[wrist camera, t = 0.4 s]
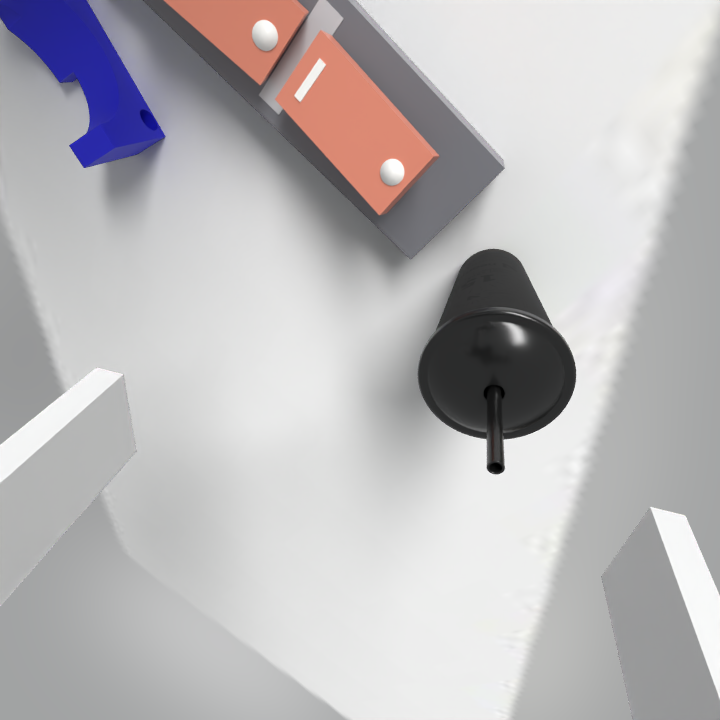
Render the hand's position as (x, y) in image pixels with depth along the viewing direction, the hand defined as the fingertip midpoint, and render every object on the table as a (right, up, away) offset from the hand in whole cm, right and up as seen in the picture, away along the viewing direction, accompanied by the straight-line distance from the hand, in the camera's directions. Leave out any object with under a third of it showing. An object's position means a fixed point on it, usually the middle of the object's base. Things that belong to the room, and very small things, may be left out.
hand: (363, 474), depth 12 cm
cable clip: (-19, +24, +22) cm, 38 cm away
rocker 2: (0, +16, +16) cm, 23 cm away
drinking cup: (+10, +9, +24) cm, 27 cm away
